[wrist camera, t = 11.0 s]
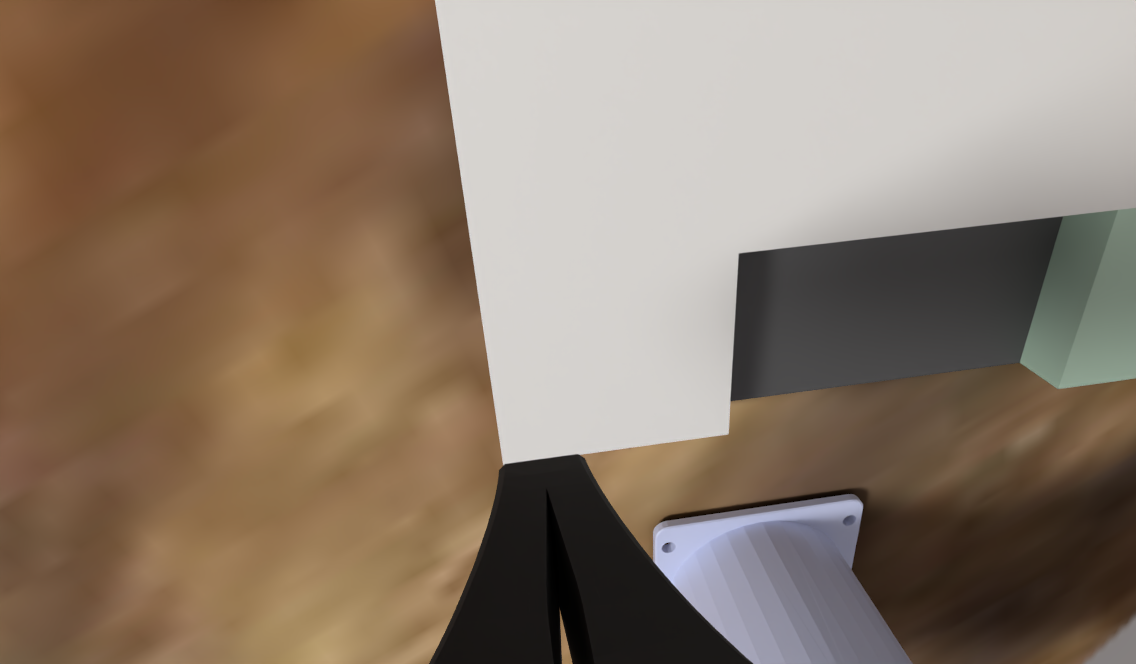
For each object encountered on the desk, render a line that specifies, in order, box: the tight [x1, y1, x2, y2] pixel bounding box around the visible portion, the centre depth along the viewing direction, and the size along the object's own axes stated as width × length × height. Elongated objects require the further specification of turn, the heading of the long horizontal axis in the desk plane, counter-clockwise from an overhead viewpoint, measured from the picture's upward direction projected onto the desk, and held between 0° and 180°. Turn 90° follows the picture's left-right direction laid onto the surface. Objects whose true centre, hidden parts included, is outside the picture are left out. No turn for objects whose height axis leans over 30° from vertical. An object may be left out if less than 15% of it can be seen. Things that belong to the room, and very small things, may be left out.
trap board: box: [435, 0, 1136, 465], centre depth 17 cm, size 20×26×2 cm
